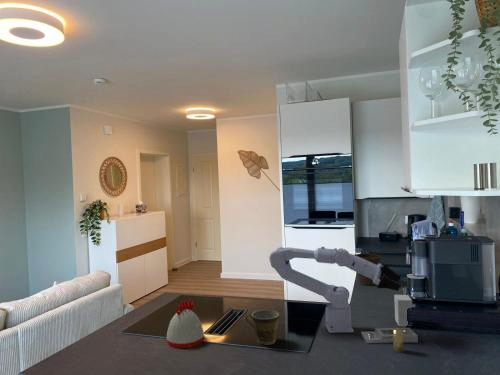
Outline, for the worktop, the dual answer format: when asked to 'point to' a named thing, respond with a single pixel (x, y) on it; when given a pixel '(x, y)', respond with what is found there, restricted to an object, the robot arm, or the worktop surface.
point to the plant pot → (373, 259)
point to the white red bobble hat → (185, 327)
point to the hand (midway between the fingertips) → (399, 283)
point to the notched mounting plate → (388, 336)
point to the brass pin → (398, 340)
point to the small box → (402, 309)
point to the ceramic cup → (265, 325)
